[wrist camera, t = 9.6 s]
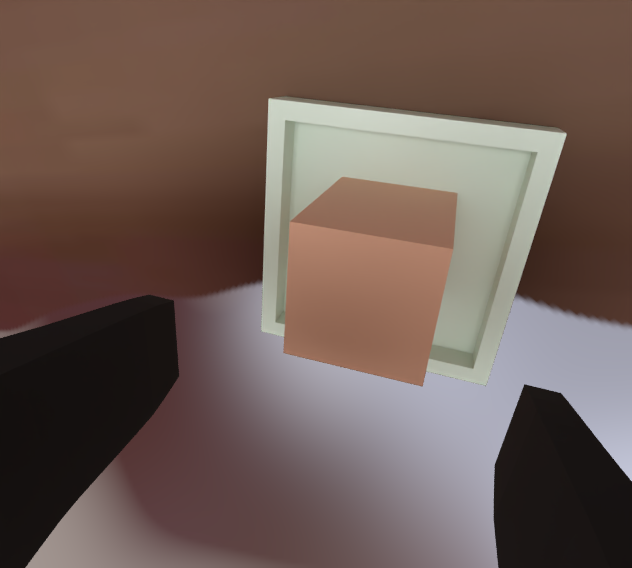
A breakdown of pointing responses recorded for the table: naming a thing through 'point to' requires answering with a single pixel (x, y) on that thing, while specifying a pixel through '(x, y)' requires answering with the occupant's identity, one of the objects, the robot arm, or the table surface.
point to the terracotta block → (369, 277)
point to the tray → (424, 172)
